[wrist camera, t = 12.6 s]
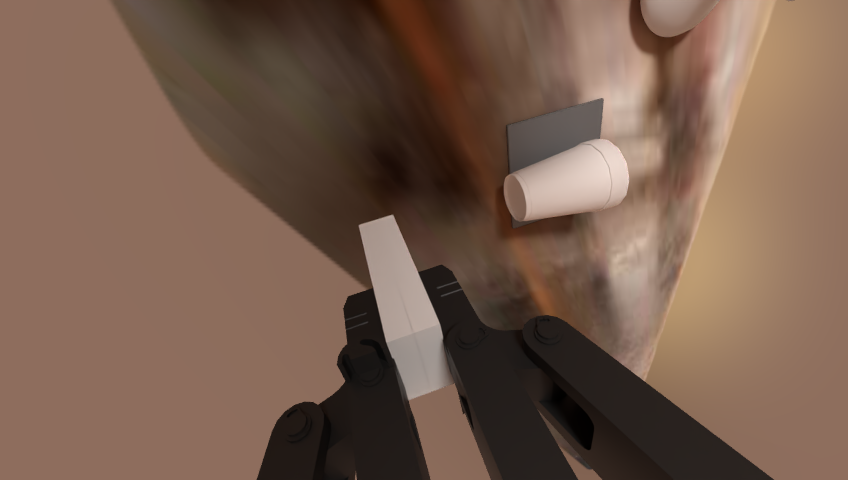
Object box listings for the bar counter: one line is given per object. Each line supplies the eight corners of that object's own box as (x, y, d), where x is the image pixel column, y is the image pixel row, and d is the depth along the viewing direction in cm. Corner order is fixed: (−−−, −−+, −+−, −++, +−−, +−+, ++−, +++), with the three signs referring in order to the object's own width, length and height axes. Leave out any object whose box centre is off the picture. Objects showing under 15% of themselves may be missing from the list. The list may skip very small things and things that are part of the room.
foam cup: (492, 175, 51) (573, 154, 53) (512, 236, 50) (592, 213, 52) (517, 151, 41) (613, 126, 43) (541, 226, 41) (638, 198, 43)
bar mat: (506, 125, 46) (507, 126, 45) (601, 98, 47) (603, 98, 47) (512, 227, 55) (513, 228, 54) (592, 201, 56) (594, 202, 56)
